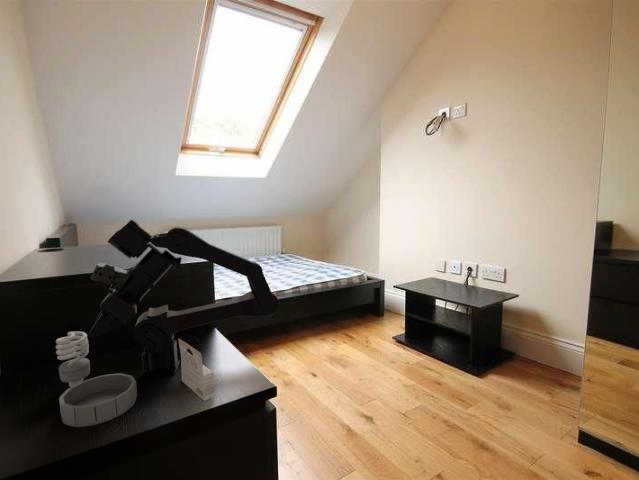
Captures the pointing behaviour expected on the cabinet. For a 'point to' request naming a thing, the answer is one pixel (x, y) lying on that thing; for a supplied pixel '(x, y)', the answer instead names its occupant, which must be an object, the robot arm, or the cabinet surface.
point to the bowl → (97, 400)
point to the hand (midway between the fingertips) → (93, 329)
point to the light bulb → (73, 368)
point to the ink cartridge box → (196, 372)
